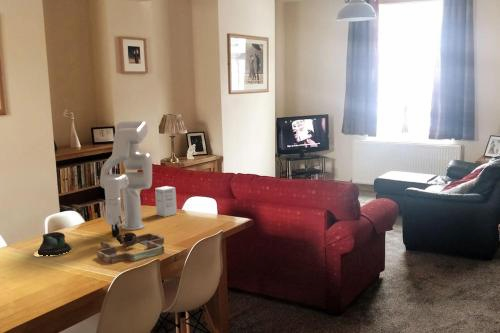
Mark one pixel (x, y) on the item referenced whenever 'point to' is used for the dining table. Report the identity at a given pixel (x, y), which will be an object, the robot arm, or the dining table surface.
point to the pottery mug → (127, 239)
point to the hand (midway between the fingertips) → (115, 236)
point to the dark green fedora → (53, 244)
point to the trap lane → (146, 239)
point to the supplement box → (166, 201)
